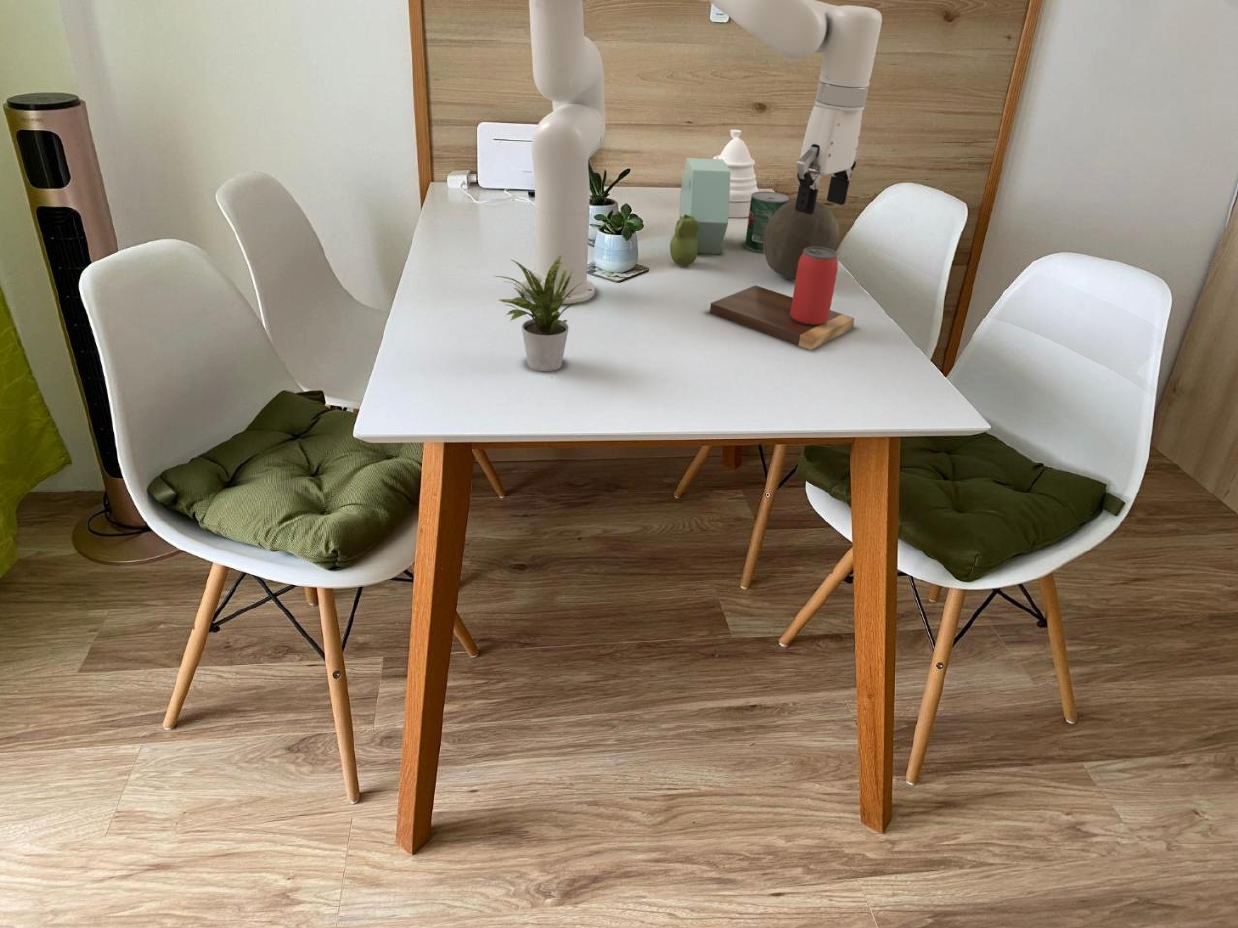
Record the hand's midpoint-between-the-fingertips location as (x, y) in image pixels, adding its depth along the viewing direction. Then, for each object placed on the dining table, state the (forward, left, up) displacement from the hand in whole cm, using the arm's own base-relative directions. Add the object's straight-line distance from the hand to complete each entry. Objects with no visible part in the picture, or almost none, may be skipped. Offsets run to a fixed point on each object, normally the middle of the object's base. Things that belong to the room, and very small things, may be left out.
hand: (820, 207), depth 148 cm
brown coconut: (+22, +15, -21) cm, 34 cm away
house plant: (-43, +20, -21) cm, 52 cm away
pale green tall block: (+22, +39, -21) cm, 49 cm away
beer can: (0, -2, -19) cm, 19 cm away
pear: (+10, +34, -21) cm, 41 cm away
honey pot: (+51, +52, -21) cm, 75 cm away
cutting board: (0, +4, -21) cm, 21 cm away
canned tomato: (+33, +30, -21) cm, 49 cm away
